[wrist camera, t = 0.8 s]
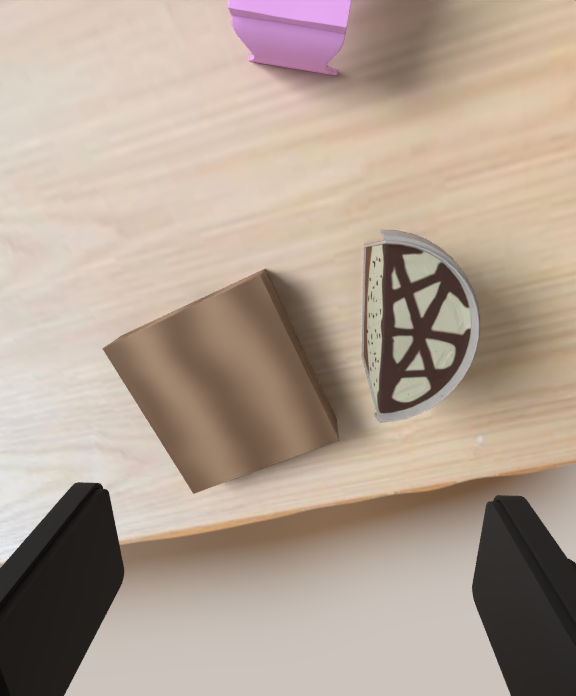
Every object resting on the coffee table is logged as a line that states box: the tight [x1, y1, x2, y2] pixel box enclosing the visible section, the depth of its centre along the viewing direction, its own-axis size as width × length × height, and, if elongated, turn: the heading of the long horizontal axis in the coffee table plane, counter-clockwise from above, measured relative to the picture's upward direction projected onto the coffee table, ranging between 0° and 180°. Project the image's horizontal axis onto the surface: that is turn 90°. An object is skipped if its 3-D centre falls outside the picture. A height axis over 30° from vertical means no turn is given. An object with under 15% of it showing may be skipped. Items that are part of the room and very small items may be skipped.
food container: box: [362, 230, 480, 423], centre depth 29 cm, size 12×6×10 cm, turn 2°
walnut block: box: [103, 269, 339, 494], centre depth 35 cm, size 14×15×4 cm
